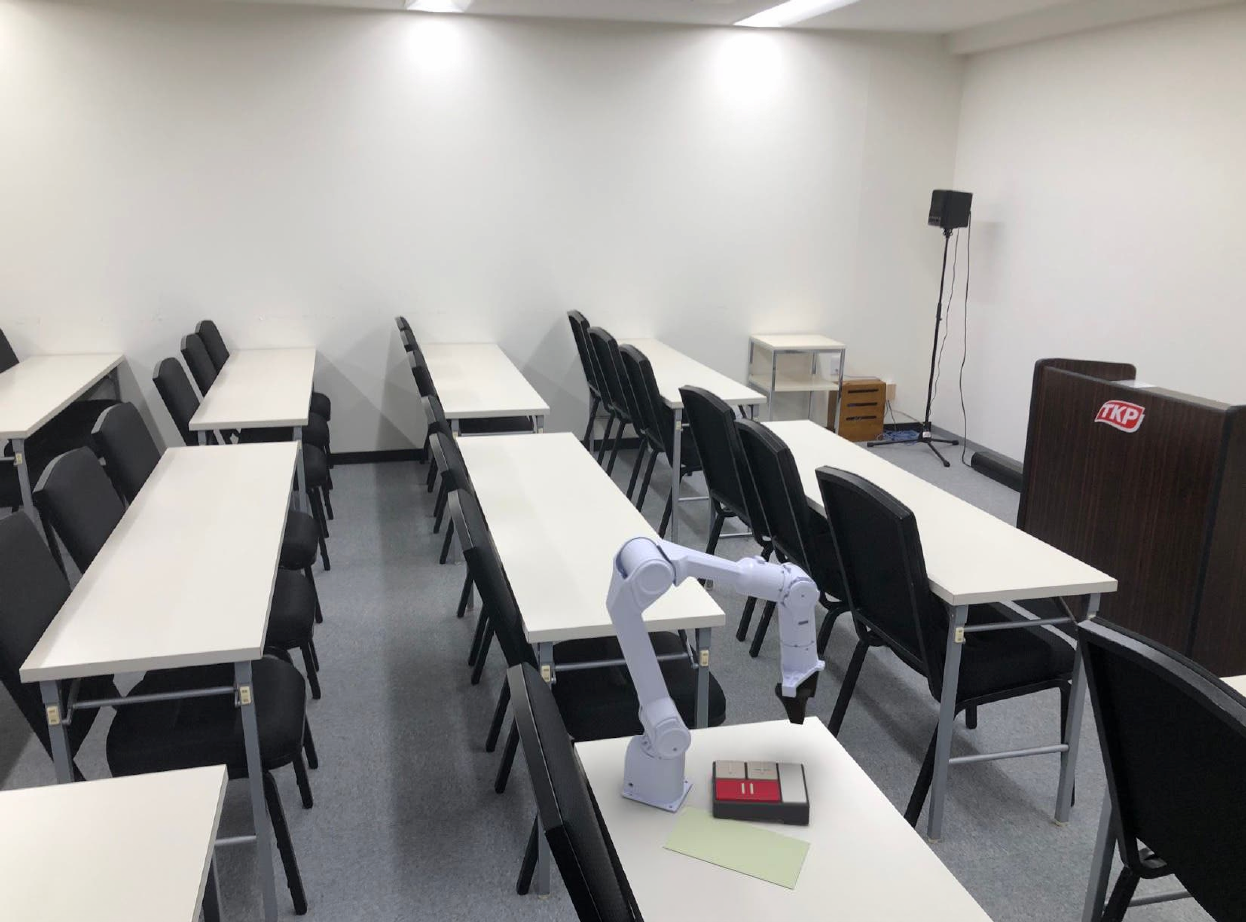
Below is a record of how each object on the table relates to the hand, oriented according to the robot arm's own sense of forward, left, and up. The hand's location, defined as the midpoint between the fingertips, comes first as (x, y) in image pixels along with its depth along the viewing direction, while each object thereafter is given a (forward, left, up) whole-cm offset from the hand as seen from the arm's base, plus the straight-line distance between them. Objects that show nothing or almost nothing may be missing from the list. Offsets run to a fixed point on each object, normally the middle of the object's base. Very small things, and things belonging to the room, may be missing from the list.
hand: (802, 709), depth 156 cm
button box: (-4, -10, -13) cm, 16 cm away
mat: (-4, -21, -13) cm, 25 cm away
